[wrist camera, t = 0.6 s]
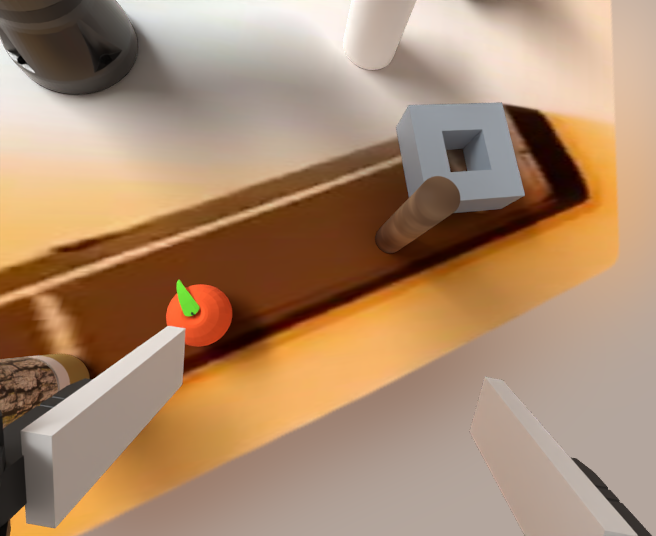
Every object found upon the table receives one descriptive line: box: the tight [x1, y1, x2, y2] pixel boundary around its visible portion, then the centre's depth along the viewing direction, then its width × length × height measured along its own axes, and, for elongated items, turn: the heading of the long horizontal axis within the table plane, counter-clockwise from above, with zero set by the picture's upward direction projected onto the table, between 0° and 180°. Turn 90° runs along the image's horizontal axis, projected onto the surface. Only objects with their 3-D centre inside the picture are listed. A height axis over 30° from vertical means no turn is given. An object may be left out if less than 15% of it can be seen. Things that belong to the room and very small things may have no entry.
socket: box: [396, 103, 525, 213], centre depth 46 cm, size 14×14×5 cm
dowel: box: [375, 176, 460, 253], centre depth 38 cm, size 4×4×15 cm
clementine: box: [166, 280, 232, 347], centre depth 37 cm, size 8×7×7 cm
